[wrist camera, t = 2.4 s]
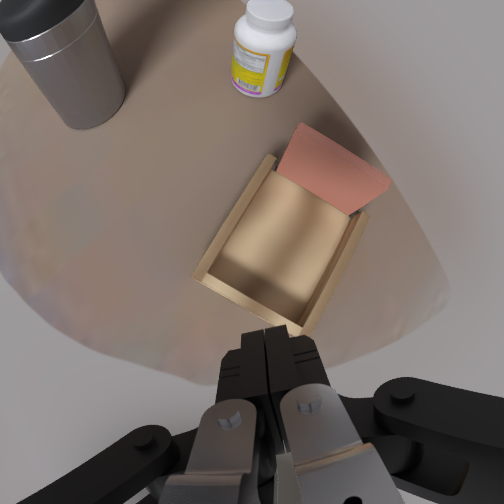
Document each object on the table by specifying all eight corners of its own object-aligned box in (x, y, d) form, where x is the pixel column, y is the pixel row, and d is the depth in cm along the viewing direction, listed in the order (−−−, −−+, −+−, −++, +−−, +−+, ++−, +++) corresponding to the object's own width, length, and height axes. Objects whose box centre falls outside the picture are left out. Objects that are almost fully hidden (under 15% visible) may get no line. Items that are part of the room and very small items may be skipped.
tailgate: (276, 171, 33) (295, 130, 25) (282, 161, 34) (302, 118, 25) (348, 215, 34) (388, 189, 25) (353, 205, 34) (393, 176, 25)
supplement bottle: (272, 58, 38) (290, -11, 26) (289, 95, 37) (315, 25, 25) (224, 66, 37) (229, -7, 25) (238, 104, 37) (248, 30, 24)
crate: (194, 279, 33) (191, 276, 29) (265, 164, 36) (272, 146, 31) (295, 337, 33) (306, 342, 29) (356, 219, 36) (373, 209, 31)
